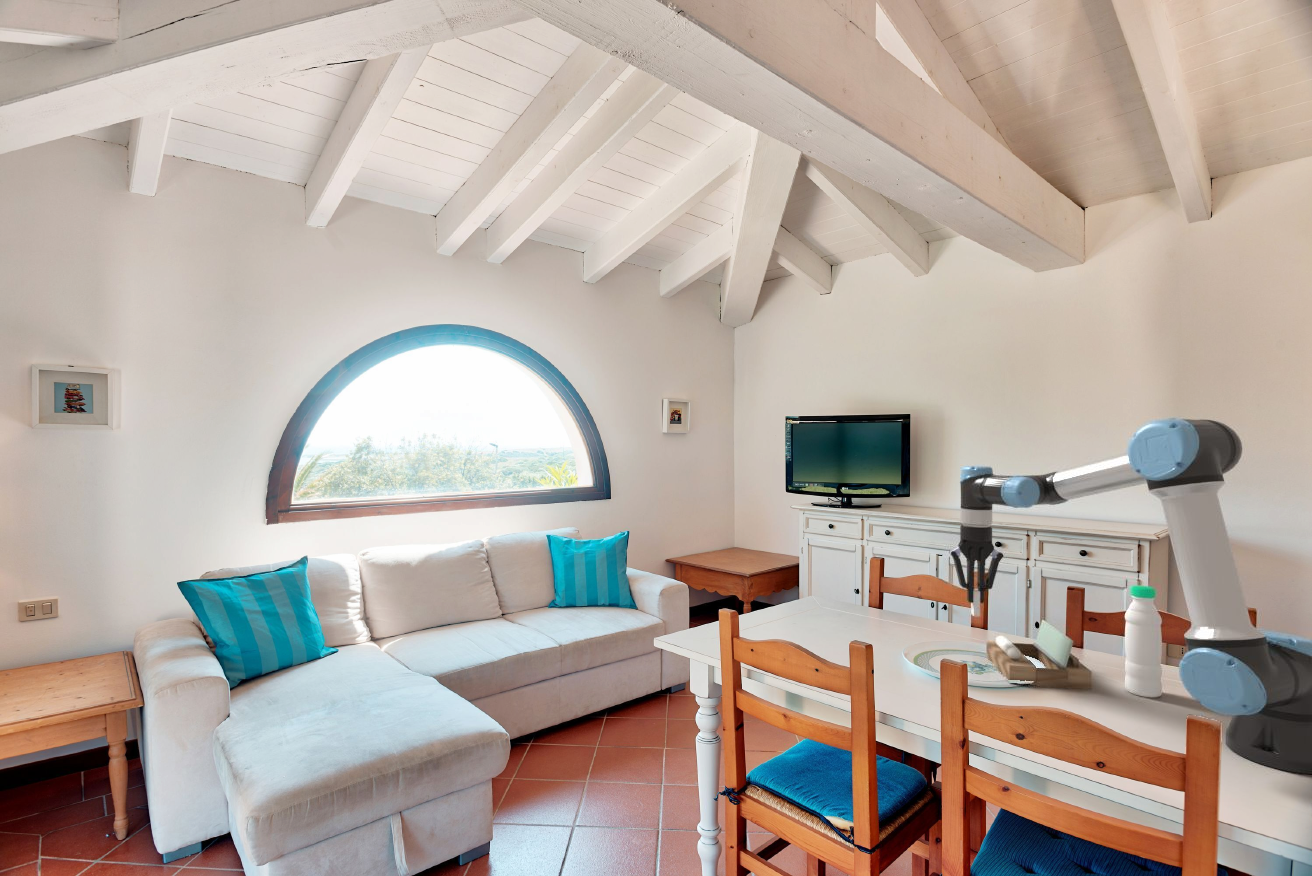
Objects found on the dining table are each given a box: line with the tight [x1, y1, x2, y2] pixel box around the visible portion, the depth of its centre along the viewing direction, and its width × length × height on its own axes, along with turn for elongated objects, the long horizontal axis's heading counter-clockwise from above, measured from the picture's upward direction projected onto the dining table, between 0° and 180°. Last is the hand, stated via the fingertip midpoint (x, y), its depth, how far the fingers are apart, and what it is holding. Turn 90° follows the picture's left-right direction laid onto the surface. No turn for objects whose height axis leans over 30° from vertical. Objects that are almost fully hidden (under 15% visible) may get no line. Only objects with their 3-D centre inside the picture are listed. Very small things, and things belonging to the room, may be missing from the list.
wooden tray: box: [985, 640, 1092, 690], centre depth 171 cm, size 21×18×6 cm
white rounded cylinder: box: [995, 635, 1021, 660], centre depth 172 cm, size 13×3×3 cm, turn 168°
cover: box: [1032, 619, 1074, 669], centre depth 170 cm, size 19×8×1 cm
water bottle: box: [1124, 585, 1163, 699], centre depth 157 cm, size 7×7×25 cm
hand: (975, 615), depth 174 cm, fingers closed
